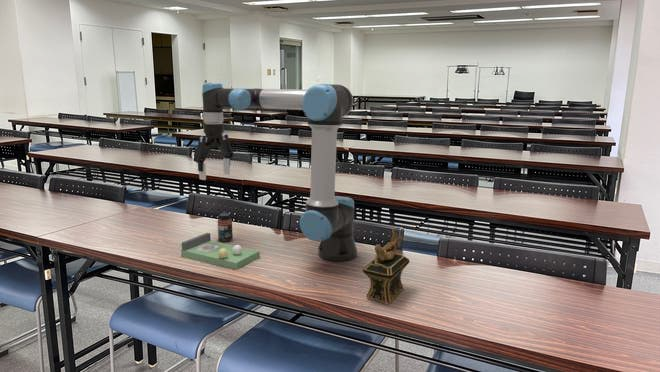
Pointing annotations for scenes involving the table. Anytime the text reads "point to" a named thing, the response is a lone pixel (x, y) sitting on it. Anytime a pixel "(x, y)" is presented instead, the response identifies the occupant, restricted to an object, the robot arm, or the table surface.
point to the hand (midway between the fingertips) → (215, 176)
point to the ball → (237, 249)
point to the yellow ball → (223, 253)
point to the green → (216, 252)
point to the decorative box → (386, 272)
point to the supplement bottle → (225, 228)
